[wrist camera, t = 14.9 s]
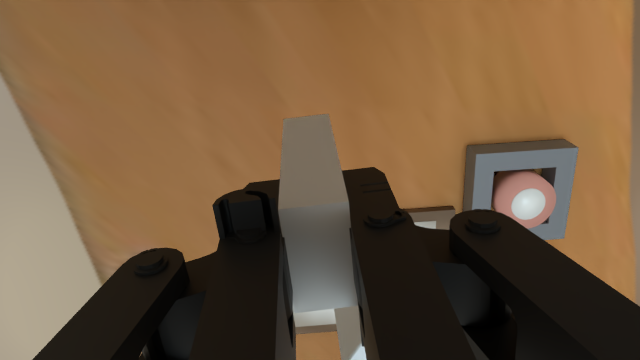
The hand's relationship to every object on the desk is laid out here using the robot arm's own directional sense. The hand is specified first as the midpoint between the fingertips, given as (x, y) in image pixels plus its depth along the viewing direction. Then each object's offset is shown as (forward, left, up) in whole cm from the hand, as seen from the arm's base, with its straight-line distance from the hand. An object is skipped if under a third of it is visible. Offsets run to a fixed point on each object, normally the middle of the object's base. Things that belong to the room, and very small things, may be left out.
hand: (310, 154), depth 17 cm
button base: (+14, +19, -26) cm, 35 cm away
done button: (+14, +19, -25) cm, 35 cm away
